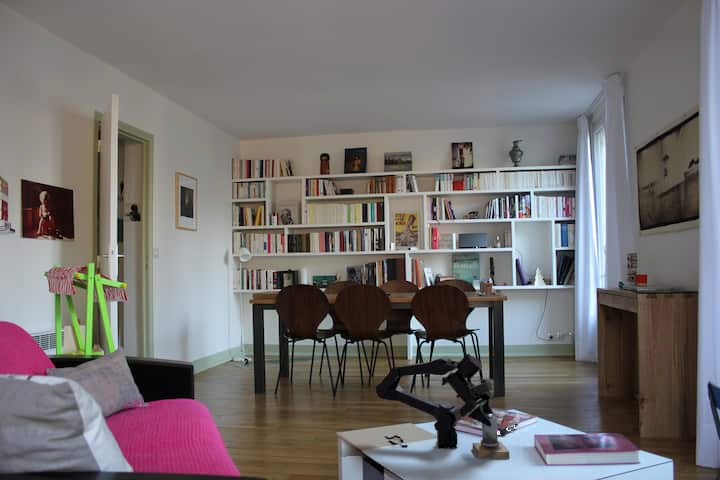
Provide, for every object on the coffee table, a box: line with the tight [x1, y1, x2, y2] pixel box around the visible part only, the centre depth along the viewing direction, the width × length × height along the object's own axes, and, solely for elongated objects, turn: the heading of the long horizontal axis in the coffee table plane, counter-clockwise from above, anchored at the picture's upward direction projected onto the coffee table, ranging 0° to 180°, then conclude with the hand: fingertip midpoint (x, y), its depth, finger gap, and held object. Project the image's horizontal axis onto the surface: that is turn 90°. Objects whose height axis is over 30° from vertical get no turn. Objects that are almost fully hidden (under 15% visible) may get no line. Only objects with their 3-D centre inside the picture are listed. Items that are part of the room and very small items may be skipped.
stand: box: [472, 441, 510, 460], centre depth 186 cm, size 10×10×2 cm
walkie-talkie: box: [497, 417, 515, 437], centre depth 214 cm, size 9×4×20 cm
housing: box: [480, 414, 500, 448], centre depth 187 cm, size 6×6×10 cm
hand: (493, 423), depth 186 cm, fingers closed on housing, 5 cm apart
